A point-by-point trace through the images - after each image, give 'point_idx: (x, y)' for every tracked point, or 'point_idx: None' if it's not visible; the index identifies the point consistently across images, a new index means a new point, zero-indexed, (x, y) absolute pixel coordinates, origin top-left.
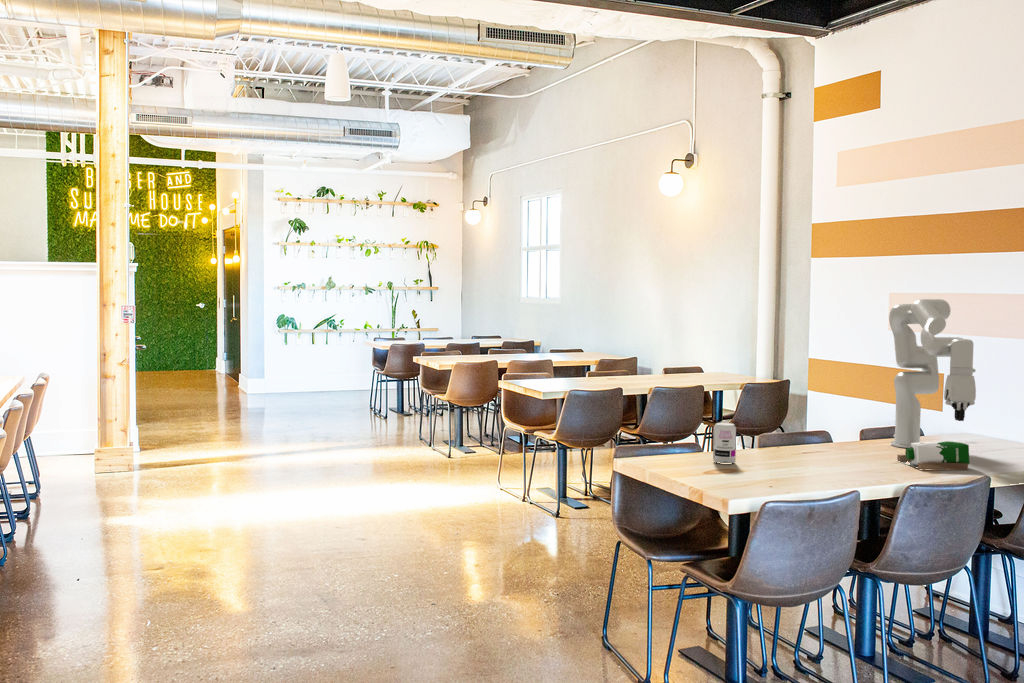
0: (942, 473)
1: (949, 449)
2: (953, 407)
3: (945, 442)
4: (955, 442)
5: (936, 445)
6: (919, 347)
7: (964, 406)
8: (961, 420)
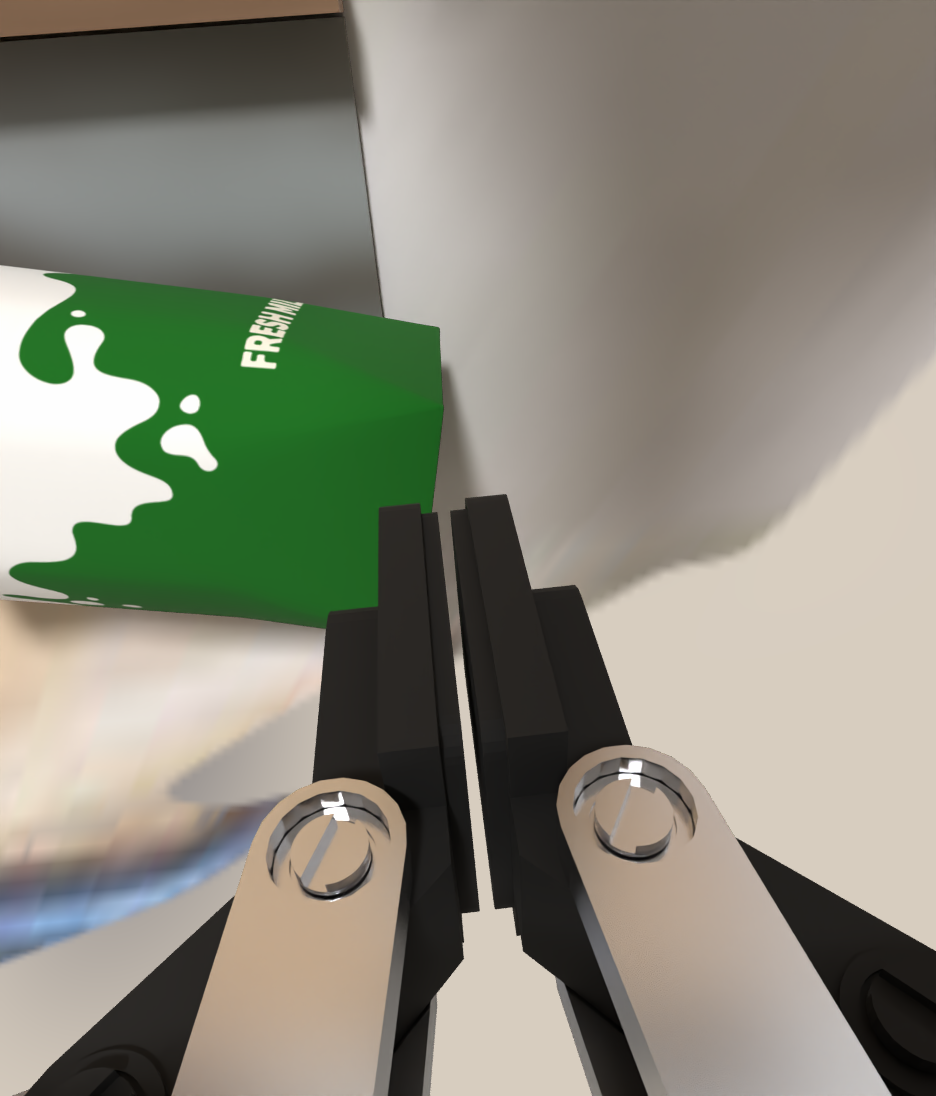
0: (120, 618)
1: (179, 612)
2: (207, 971)
3: (132, 576)
4: (287, 556)
5: (4, 592)
6: None
7: (612, 1081)
8: (463, 658)
